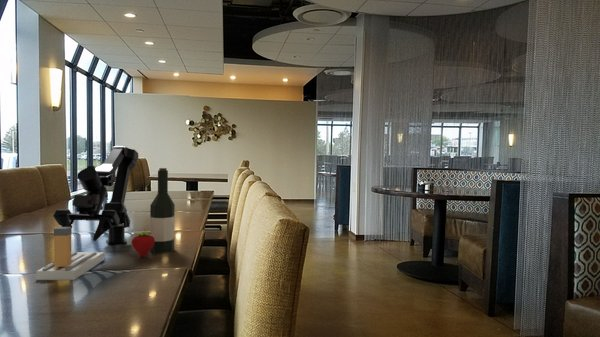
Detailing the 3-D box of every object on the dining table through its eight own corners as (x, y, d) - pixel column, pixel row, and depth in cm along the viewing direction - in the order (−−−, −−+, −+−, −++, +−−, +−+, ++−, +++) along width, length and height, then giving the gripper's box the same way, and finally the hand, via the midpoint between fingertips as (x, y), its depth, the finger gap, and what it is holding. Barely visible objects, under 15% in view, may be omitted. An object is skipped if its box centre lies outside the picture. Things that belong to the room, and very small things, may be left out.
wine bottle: (178, 248, 146) (179, 168, 145) (164, 254, 138) (165, 169, 137) (160, 246, 149) (161, 167, 147) (144, 251, 141) (145, 168, 140)
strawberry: (129, 256, 134) (129, 227, 134) (151, 253, 139) (151, 225, 138) (134, 260, 129) (134, 230, 129) (157, 257, 134) (157, 228, 134)
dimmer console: (72, 259, 129) (72, 250, 129) (104, 259, 130) (104, 250, 130) (36, 279, 109) (36, 268, 109) (74, 279, 110) (74, 268, 110)
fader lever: (58, 264, 114) (58, 226, 114) (71, 264, 115) (71, 226, 114) (53, 266, 112) (53, 228, 111) (67, 266, 112) (67, 228, 112)
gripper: (55, 184, 126) (36, 225, 115) (116, 185, 127) (101, 226, 117) (68, 205, 134) (51, 245, 124) (125, 205, 136) (112, 245, 125)
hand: (78, 240), depth 122 cm, fingers open, 9 cm apart
